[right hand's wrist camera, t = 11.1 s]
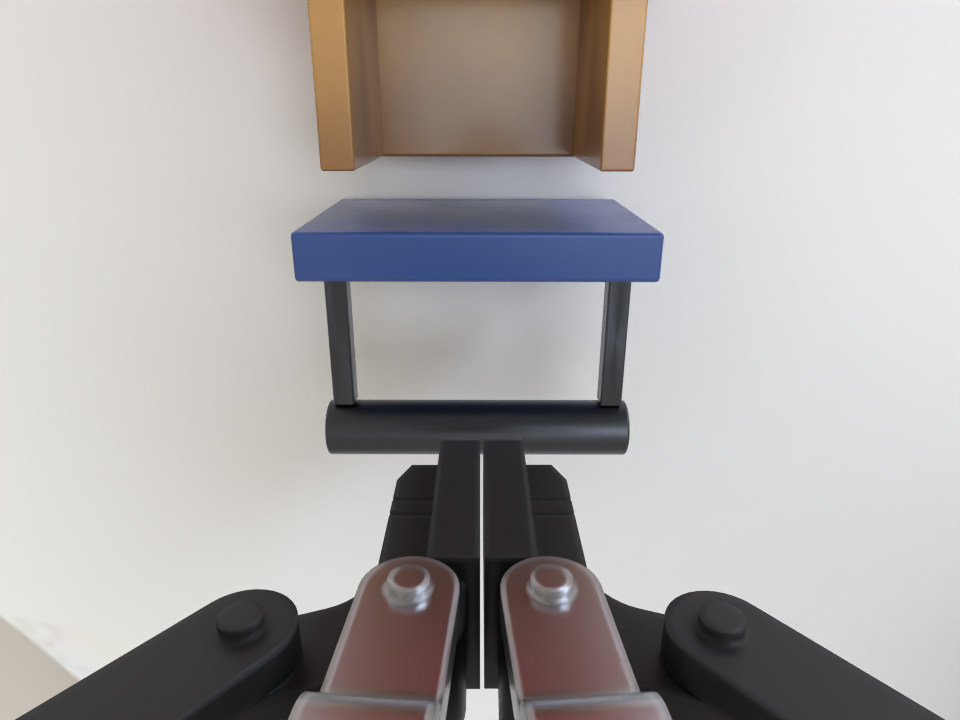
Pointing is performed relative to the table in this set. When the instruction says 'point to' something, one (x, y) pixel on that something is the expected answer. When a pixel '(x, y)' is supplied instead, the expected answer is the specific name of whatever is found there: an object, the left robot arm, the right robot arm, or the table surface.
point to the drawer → (477, 222)
